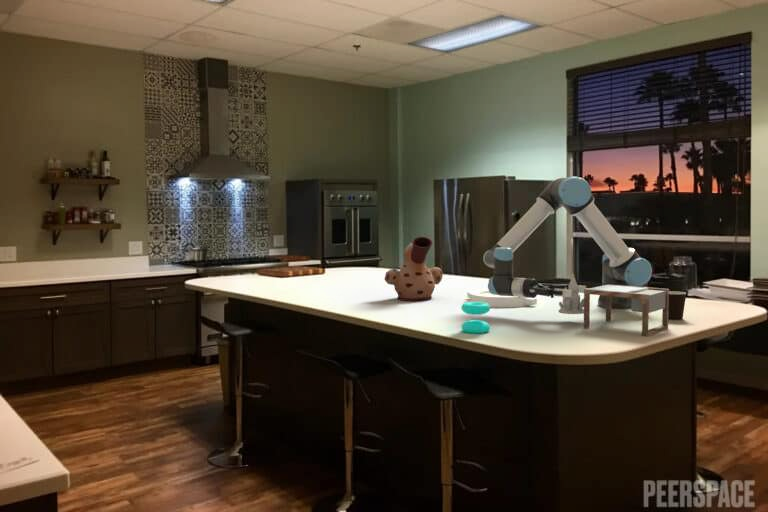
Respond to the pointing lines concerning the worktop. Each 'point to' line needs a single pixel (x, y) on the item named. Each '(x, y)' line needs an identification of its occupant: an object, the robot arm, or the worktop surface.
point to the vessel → (415, 273)
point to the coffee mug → (676, 305)
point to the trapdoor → (654, 299)
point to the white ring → (499, 299)
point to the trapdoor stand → (628, 295)
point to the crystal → (572, 300)
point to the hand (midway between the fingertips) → (578, 291)
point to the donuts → (475, 325)
